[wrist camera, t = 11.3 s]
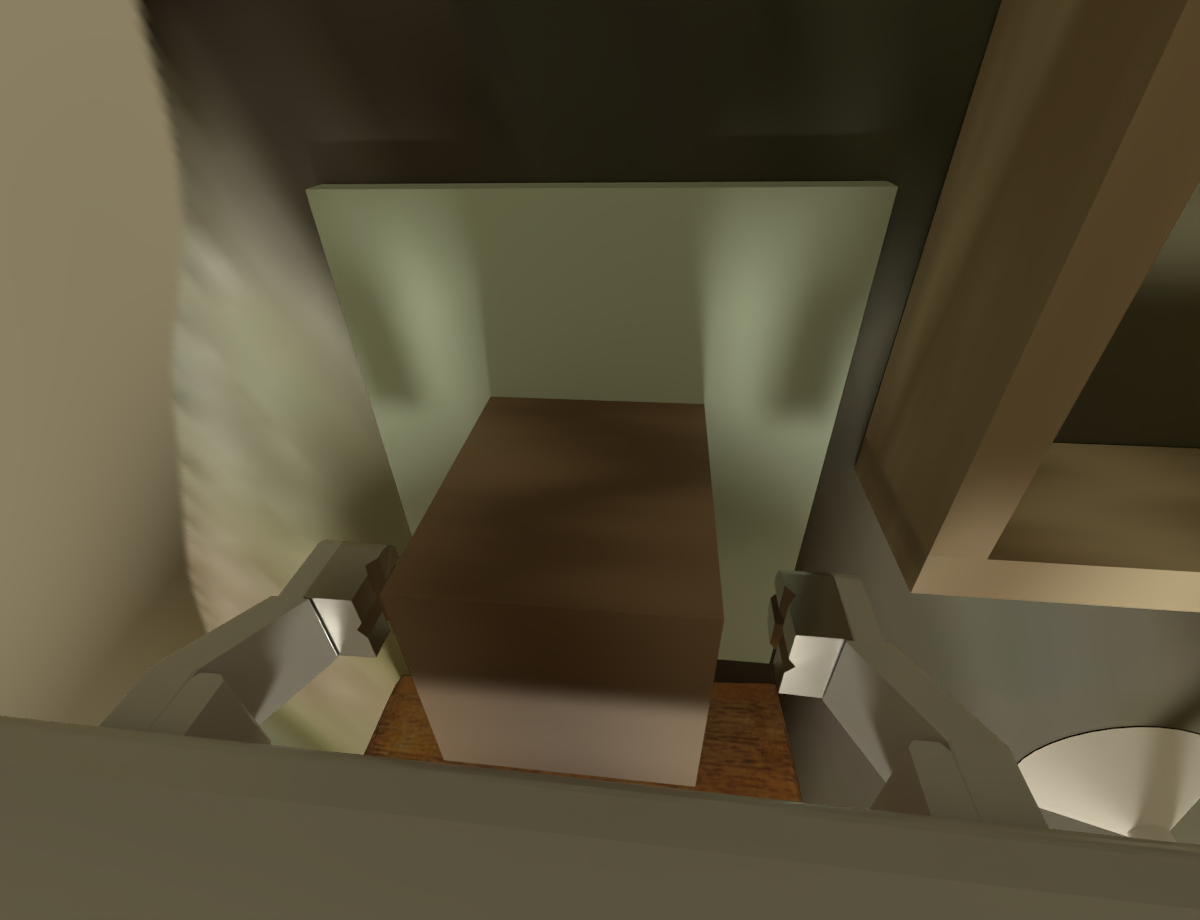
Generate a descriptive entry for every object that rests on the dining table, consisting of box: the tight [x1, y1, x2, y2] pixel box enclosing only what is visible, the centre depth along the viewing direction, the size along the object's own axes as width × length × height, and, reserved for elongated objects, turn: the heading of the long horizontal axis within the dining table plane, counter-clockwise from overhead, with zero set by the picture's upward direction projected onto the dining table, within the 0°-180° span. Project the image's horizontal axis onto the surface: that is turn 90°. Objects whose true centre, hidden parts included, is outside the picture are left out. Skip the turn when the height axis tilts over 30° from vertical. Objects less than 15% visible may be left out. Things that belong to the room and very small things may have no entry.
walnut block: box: [380, 397, 724, 787], centre depth 12 cm, size 5×5×6 cm
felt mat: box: [305, 181, 898, 663], centre depth 14 cm, size 11×14×1 cm
